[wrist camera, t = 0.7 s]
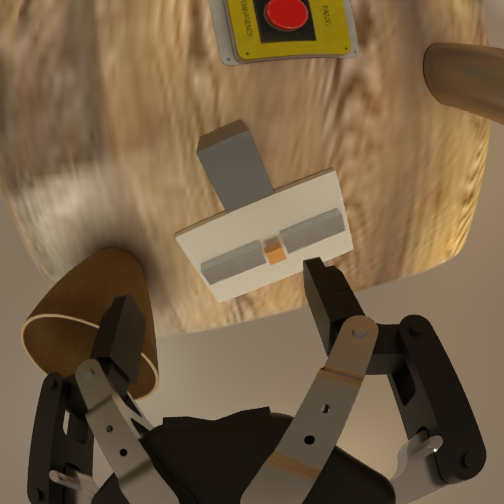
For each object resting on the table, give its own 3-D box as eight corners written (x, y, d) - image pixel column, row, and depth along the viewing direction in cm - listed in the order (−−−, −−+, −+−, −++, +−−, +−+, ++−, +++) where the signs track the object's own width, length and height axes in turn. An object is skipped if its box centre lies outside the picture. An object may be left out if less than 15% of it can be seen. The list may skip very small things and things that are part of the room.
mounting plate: (332, 167, 30) (335, 170, 29) (350, 245, 37) (353, 249, 36) (175, 233, 32) (174, 237, 32) (218, 298, 39) (219, 303, 38)
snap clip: (279, 241, 32) (282, 247, 31) (284, 253, 33) (286, 258, 32) (263, 248, 32) (265, 253, 31) (268, 259, 33) (270, 265, 32)
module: (240, 119, 26) (248, 129, 20) (261, 168, 29) (274, 192, 24) (199, 137, 26) (196, 152, 21) (223, 184, 30) (226, 212, 24)
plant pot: (179, 304, 39) (174, 405, 26) (91, 308, 38) (64, 396, 24) (159, 212, 31) (128, 316, 18) (55, 226, 29) (-5, 314, 16)
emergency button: (206, -21, 14) (363, -21, 14) (206, -7, 18) (344, -11, 18) (222, 64, 19) (377, 57, 20) (221, 68, 23) (357, 58, 23)
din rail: (336, 207, 32) (341, 213, 31) (340, 224, 34) (345, 230, 32) (200, 263, 34) (200, 271, 33) (209, 277, 36) (210, 285, 34)
